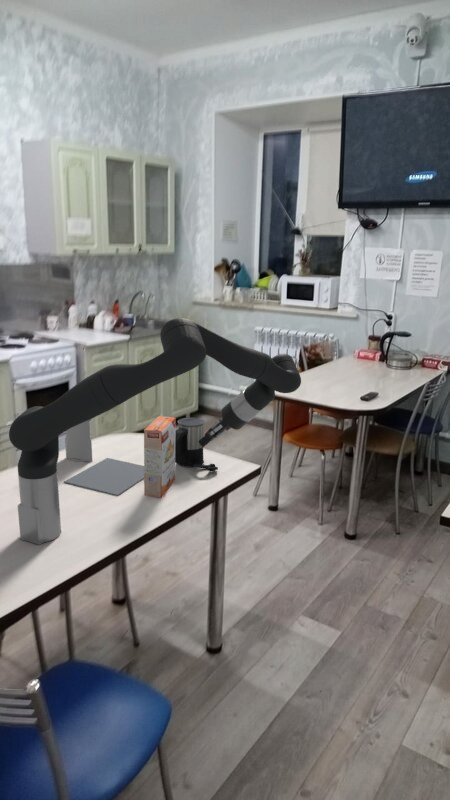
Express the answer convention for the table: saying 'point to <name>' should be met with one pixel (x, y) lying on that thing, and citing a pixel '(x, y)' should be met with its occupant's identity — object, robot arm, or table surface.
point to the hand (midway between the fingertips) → (201, 443)
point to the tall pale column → (79, 443)
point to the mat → (109, 476)
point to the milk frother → (190, 444)
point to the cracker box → (159, 456)
